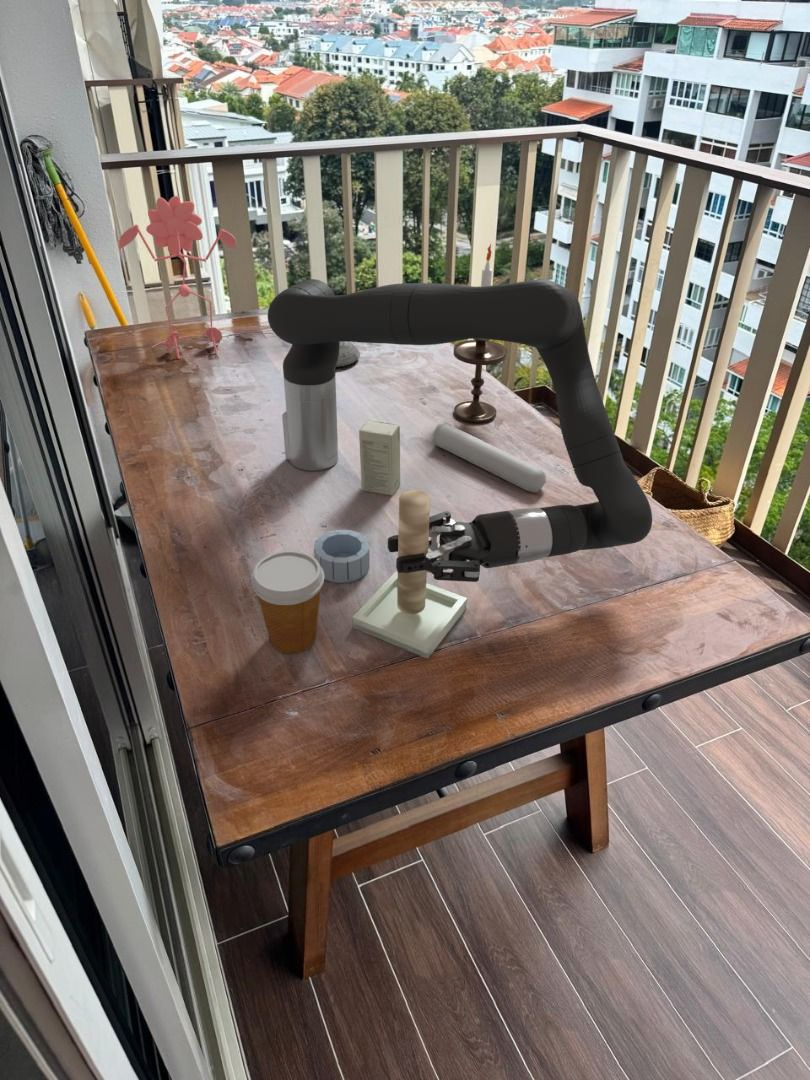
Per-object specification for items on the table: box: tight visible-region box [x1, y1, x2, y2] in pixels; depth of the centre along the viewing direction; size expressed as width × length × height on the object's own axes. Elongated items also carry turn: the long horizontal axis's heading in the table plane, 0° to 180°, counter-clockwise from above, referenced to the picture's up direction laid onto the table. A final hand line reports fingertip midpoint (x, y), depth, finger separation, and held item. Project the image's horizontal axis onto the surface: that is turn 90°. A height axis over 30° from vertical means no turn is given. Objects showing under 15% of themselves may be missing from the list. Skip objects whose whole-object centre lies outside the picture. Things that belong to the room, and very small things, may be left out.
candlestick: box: [452, 243, 508, 425], centre depth 151 cm, size 11×11×35 cm
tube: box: [431, 421, 547, 493], centre depth 142 cm, size 5×5×25 cm
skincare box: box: [358, 419, 401, 496], centre depth 133 cm, size 6×4×12 cm
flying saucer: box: [335, 342, 361, 368], centre depth 183 cm, size 15×15×6 cm
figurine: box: [118, 195, 237, 360], centre depth 178 cm, size 15×26×35 cm, turn 113°
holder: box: [313, 529, 371, 584], centre depth 117 cm, size 8×8×4 cm
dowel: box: [397, 489, 431, 614], centre depth 102 cm, size 4×4×18 cm
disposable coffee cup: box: [250, 550, 325, 655], centre depth 101 cm, size 10×10×12 cm
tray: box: [352, 571, 468, 659], centre depth 108 cm, size 12×12×2 cm
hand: (393, 555), depth 101 cm, fingers closed on dowel, 4 cm apart
